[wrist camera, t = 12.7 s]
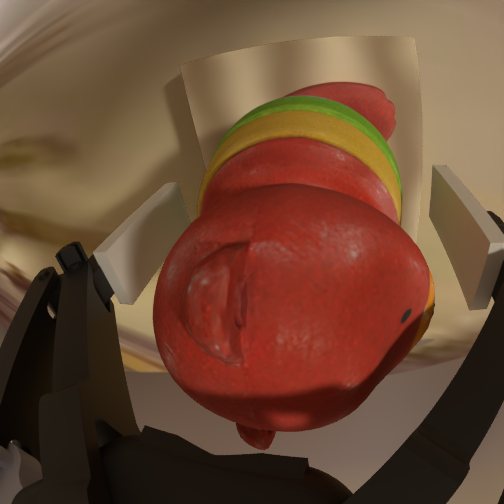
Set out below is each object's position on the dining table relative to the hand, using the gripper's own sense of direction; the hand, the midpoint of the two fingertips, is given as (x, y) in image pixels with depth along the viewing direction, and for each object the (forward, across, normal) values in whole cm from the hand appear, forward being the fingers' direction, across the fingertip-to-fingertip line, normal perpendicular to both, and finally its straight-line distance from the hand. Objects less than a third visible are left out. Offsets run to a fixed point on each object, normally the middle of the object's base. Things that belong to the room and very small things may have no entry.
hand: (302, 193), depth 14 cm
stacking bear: (+7, 0, 0) cm, 7 cm away
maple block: (+11, 0, 0) cm, 11 cm away
